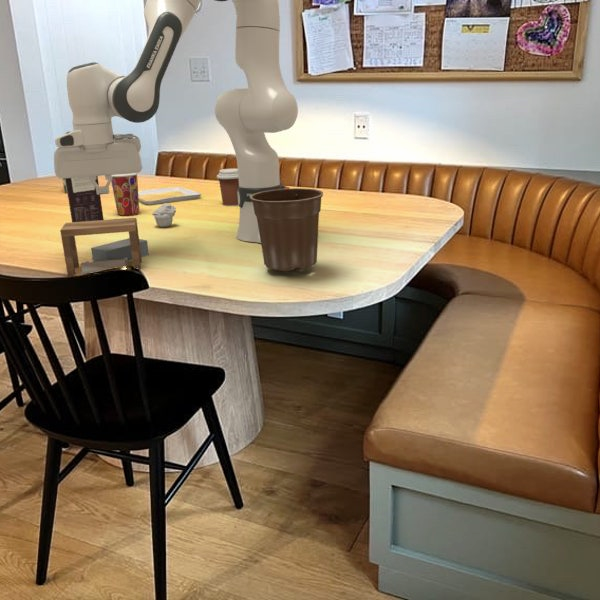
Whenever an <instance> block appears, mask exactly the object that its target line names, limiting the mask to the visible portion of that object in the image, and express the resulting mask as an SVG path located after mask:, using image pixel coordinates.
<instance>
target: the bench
mask: <svg viewBox="0 0 600 600" xmlns="http://www.w3.org/2000/svg"><path fill="white" fill-rule="evenodd" d="M59 231H60V237H61V243H62V248H63V255H64V261H65V267H66V273H67V276H68V277H69V276H75V275H76V269H77V268H79V267H80V268H81V272H82V273H81V274H82V275H88V274H87V273H91V272H97V271H101V270H105V269H110V268H115V267H123V266H127V267H128V264H129V261H128V258H124V259H120V260H108V261H96V262H93V261H90V260H85V262H81V263H80V261H79V256H78V250H77V243H76V238H75V237H78V236H89V235H91V236H92V235H102V234H103V235H104V234H114V233H115V234H117V233H128V236H129V237H128V238H130V245H131V253H132V260H131V262H132V268H133V267H135V268H138V269H139V270H141V263H142V261H143V260H142V257H141V251H140V243H139V239H140V234H139V229H138V219H137V217H128V218H125V217H124V218H113V219H112V218H111V219H104V220H97V221H84V222H72V221H71V222H65V223H64V224H63V225H62V227H61V229H60V230H59Z"/></svg>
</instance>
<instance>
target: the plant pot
mask: <svg viewBox="0 0 600 600" xmlns="http://www.w3.org/2000/svg"><path fill="white" fill-rule="evenodd" d="M323 196H324V191H322V190H320V189H315V188H301V187H300V188H298V187H297V188H295V187H294V188H290V189H277V190H268V191H263V192H258V193H255V194H253V195H251V196H250V199H251V200H252V202H253V207H254V213H255V215H256V217H257V222H258V228H259V234H260V240H261V243H260V244H261V245H260V246H261V253H262V258H263V264H264V266H265V267H266V268H267V269H270V270H274V271H280V272H281V271H294V270H295V269H297V268H298V269H300V270H304V269H308V268H311V267H313V266H315V265H316V264H317V262H318V242H319V239H318V238H319V223H320V221H319V220H320V219H319V217H320V212H321V209H322V208H321V207H322V197H323Z"/></svg>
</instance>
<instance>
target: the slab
mask: <svg viewBox="0 0 600 600" xmlns="http://www.w3.org/2000/svg"><path fill="white" fill-rule="evenodd" d="M139 243H140V251H141V258H142V257H147V256H149V255H150V254H149V246H148V244H149V243H148V240H147V239H142V238H141V239H140V238H139ZM90 249H91V250H90V251H91V257H92V262H96V261H108V260H120V259H124V258H128V262H129V261H132V253H131V245H130V238H129V237H128V238H125V239H120V240H117V241H113V242H110V243H105V244H101V245H98V246H92V247H91V248H90Z"/></svg>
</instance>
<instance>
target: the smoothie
mask: <svg viewBox="0 0 600 600" xmlns="http://www.w3.org/2000/svg"><path fill="white" fill-rule="evenodd" d="M138 182H139V181H138V173H128V174H116V175H112V180H111V182H110V183H111V186H112V191H113V197H114V202H115V207H116V211H117V215H118V216H121V217H132V216H137V215H139V213H140V201H139V198H140V197H139V195H138V191H139V185H138Z"/></svg>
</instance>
